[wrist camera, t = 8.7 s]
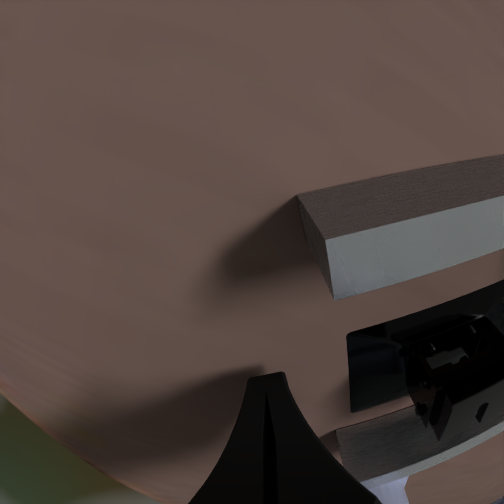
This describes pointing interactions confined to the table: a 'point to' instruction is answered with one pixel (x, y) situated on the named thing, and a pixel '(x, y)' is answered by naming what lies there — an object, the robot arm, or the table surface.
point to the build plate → (435, 361)
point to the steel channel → (401, 269)
